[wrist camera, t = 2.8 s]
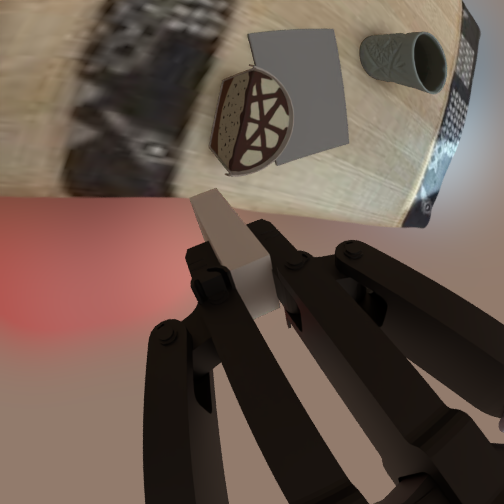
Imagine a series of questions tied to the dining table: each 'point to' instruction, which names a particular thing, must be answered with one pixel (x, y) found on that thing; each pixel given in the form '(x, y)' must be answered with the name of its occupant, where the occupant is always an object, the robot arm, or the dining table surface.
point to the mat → (306, 86)
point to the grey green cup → (406, 60)
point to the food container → (251, 121)
